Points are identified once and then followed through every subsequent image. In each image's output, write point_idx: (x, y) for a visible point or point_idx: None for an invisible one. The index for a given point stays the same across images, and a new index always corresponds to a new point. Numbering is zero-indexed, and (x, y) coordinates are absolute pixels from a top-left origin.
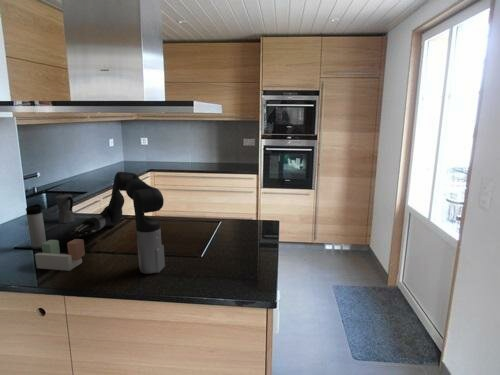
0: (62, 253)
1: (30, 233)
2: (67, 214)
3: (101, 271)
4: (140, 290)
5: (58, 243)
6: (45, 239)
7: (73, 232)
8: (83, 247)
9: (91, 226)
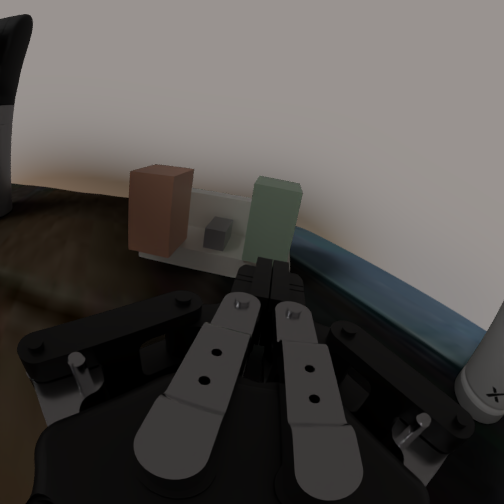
0: (220, 230)
1: None
2: None
3: (81, 219)
4: (40, 188)
5: (252, 199)
6: (488, 381)
7: (276, 275)
8: (131, 209)
9: (76, 463)
